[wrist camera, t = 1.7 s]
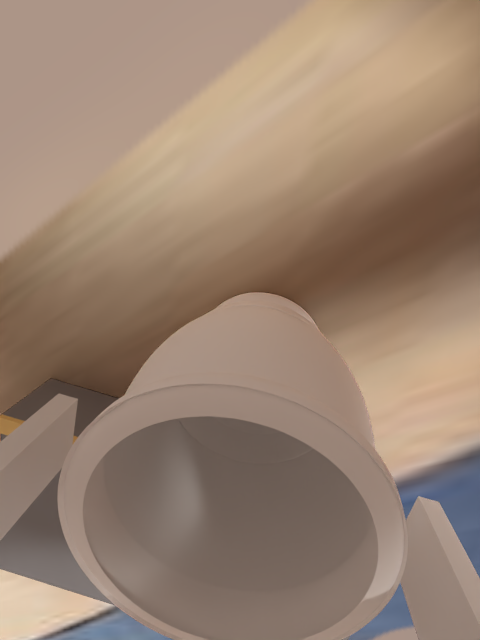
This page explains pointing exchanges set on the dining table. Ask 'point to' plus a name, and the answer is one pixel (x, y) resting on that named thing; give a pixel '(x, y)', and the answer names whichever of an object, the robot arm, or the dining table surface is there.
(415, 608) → the robot arm
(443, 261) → the dining table surface
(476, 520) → the dining table surface
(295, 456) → the jar
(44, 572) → the dock
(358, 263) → the dining table surface
